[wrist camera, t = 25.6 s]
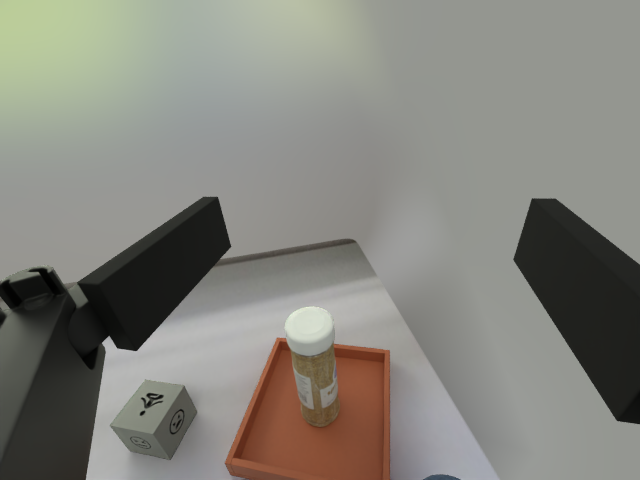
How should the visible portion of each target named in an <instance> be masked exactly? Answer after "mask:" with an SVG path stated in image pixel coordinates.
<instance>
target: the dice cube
mask: <svg viewBox="0 0 640 480" xmlns="http://www.w3.org/2000/svg"><path fill="white" fill-rule="evenodd" d="M196 413H197V411H196V408H195V406H194V404H193V402H192V400H191V398H190V396H189V394H188V392H187V390H186V388H185V386H184V385H177V384H170V383H164V382H157V381H151V380H145V381H144V382H143V383H142V385H141V386H140V387H139V388H138V390H137V391H136V392H135V394H134V395H133V396H132V397H131V399H130V400H129V401H128V402H127V404H126V405H125V406H124V408H123V409H122V410H121V411H120V413H119V414H118V415H117V417H116V418H115V419H114V420H113V422H112V423H111V424H110V427H111V428H112V429H113V430H114V432H115V433H116V434H117V435H118V437H119V438H120V439H121V440H122V442H123V443H124V444H125V446H126V447H127V448H128V449H129V451H132V452H136V453H141V454H146V455H150V456H155V457H160V458H164V459H169V460H171V458H172V456H173V454H174V452H175V451H176V449H177V447H178V445H179V443H180V442H181V440H182V438H183V436H184V434H185V433H186V431H187V429H188V427H189V425H190V424H191V422H192V420H193V418H194V416H195V415H196Z"/></svg>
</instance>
